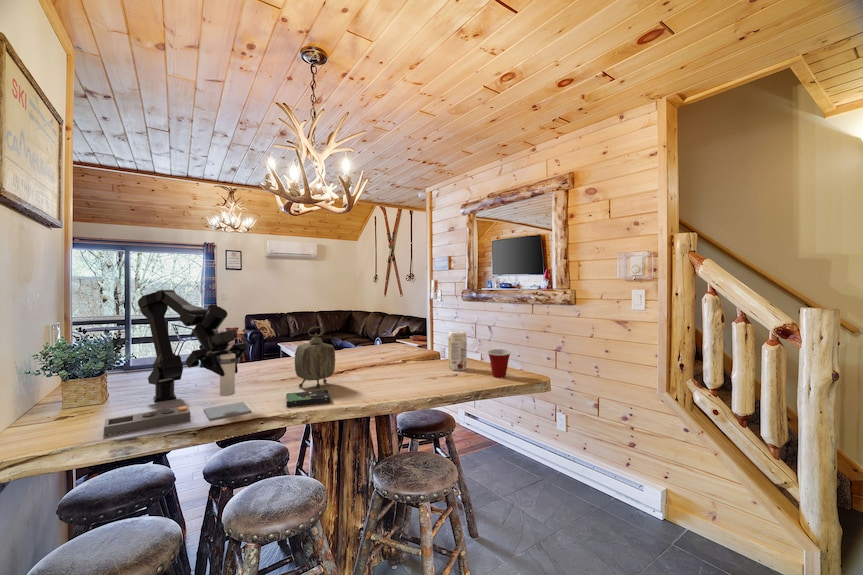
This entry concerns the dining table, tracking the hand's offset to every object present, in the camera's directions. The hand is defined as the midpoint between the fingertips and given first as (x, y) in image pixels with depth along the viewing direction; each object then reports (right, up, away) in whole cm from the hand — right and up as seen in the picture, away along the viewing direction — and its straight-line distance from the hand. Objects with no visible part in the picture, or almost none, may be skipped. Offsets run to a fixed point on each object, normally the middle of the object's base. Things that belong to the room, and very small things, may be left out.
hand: (230, 374), depth 122 cm
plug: (0, -7, 0) cm, 7 cm away
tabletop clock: (+18, -13, +32) cm, 39 cm away
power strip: (-18, -12, -11) cm, 25 cm away
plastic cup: (+98, -13, +51) cm, 111 cm away
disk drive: (+22, -13, +12) cm, 28 cm away
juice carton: (+79, -13, +67) cm, 105 cm away
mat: (-1, -12, 0) cm, 13 cm away
